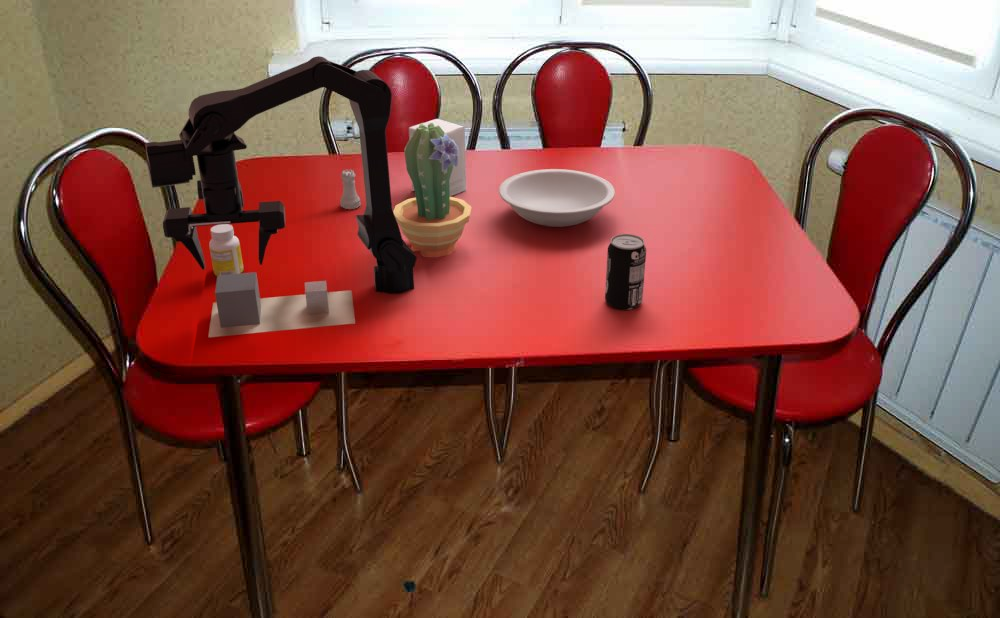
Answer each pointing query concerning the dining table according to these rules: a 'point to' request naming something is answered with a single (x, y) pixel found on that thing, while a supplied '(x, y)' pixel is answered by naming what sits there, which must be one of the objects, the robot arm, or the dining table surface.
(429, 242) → the potted cactus
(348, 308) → the board
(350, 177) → the rook chess piece
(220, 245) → the supplement bottle
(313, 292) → the grey cube
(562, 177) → the soup bowl
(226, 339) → the dining table surface
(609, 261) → the beverage can
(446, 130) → the supplement box
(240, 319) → the gray matte cube
